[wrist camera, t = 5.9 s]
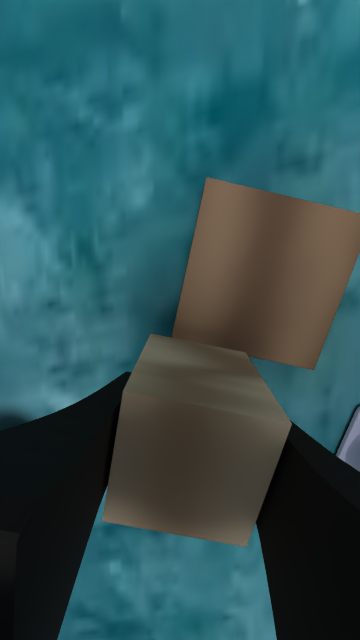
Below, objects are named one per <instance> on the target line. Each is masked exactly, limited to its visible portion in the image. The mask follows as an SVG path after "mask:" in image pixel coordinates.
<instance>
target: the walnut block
mask: <svg viewBox="0 0 360 640" xmlns="http://www.w3.org/2000/svg"><path fill="white" fill-rule="evenodd" d="M359 252H360V213H357V212H353V211H349V210H344V209H340V208H336V207H331V206H327V205H323V204H319V203H314V202H310V201H306V200H302V199H297V198H293V197H289V196H285V195H280V194H276V193H272V192H267V191H263V190H259V189H255V188H250V187H246V186H242V185H238V184H233V183H229V182H225V181H221V180H216V179H212V178H208V177H207V178H206V182H205V186H204V190H203V194H202V199H201V203H200V208H199V212H198V217H197V222H196V226H195V231H194V235H193V240H192V245H191V249H190V254H189V258H188V263H187V268H186V272H185V277H184V281H183V286H182V291H181V295H180V300H179V304H178V309H177V314H176V318H175V323H174V327H173V333H172V338H176V339H181V340H186V341H191V342H196V343H201V344H206V345H211V346H216V347H221V348H226V349H231V350H236V351H241V352H246V354H247V355H248V356H251V357H255V358H260V359H265V360H269V361H274V362H279V363H284V364H288V365H293V366H298V367H302V368H307V369H312V370H314V369H315V366H316V364H317V361H318V358H319V356H320V353H321V351H322V348H323V346H324V343H325V340H326V338H327V335H328V333H329V330H330V327H331V325H332V322H333V320H334V317H335V315H336V312H337V309H338V307H339V304H340V302H341V299H342V296H343V294H344V291H345V289H346V286H347V283H348V281H349V278H350V276H351V273H352V271H353V268H354V265H355V263H356V260H357V258H358V255H359Z"/></svg>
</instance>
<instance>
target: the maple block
mask: <svg viewBox="0 0 360 640" xmlns="http://www.w3.org/2000/svg"><path fill="white" fill-rule="evenodd" d="M291 425H292V423H291V421H290V420H289V418H288V417H287V415H286V414H285V412H284V411H283V409H282V407H281V406H280V404H279V403H278V401H277V400H276V398H275V397H274V395H273V394H272V392H271V391H270V389H269V387H268V386H267V384H266V383H265V381H264V380H263V378H262V377H261V375H260V374H259V372H258V371H257V369H256V368H255V366H254V364H253V363H252V361H251V360H250V358H249V357H248V355H247V354H246V352H241V351H236V350H231V349H226V348H221V347H216V346H211V345H206V344H201V343H196V342H191V341H186V340H181V339H176V338H171V337H166V336H161V335H156V334H150V336H149V338H148V340H147V342H146V345H145V347H144V349H143V351H142V353H141V355H140V357H139V359H138V361H137V363H136V365H135V367H134V369H133V371H132V373H131V376H130V378H129V380H128V382H127V384H126V386H125V388H124V390H123V394H122V401H121V407H120V413H119V419H118V426H117V432H116V438H115V444H114V451H113V457H112V463H111V469H110V476H109V482H108V488H107V494H106V501H105V507H104V513H103V519H102V521H105V522H110V523H116V524H121V525H127V526H132V527H138V528H144V529H149V530H155V531H160V532H166V533H171V534H177V535H183V536H188V537H194V538H199V539H205V540H210V541H216V542H222V543H227V544H233V545H238V546H244V547H247V544H248V541H249V539H250V536H251V533H252V531H253V528H254V525H255V523H256V520H257V517H258V514H259V512H260V509H261V506H262V504H263V501H264V498H265V496H266V493H267V490H268V487H269V485H270V482H271V479H272V477H273V474H274V471H275V468H276V466H277V463H278V460H279V458H280V455H281V452H282V450H283V447H284V444H285V441H286V439H287V436H288V433H289V431H290V428H291Z"/></svg>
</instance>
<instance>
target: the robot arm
mask: <svg viewBox="0 0 360 640" xmlns="http://www.w3.org/2000/svg"><path fill="white" fill-rule="evenodd" d="M131 373H132V372H125V373H124V374H122V375H121V376H119V377H118V378H116V379H115V380H113V381H112V382H110V383H109V384H107V385H106V386H104V387H103V388H101V389H100V390H98V391H96V392H95V393H93V394H91V395H89V396H88V397H86V398H84V399H82V400H81V401H79V402H77V403H75V404H73V405H70V406H68V407H66V408H64V409H62V410H59V411H57V412H55V413H52V414H50V415H47V416H44V417H42V418H39V419H36V420H33V421H30V422H28V423H25V424H22V425H19V426H16V427H13V428H9V429H6V430H2V431H0V640H57V638H58V635H59V632H60V628H61V625H62V622H63V619H64V615H65V612H66V609H67V606H68V603H69V599H70V596H71V593H72V590H73V587H74V583H75V580H76V577H77V574H78V571H79V568H80V564H81V561H82V558H83V555H84V552H85V549H86V546H87V542H88V539H89V536H90V533H91V530H92V527H93V524H94V521H95V518H96V515H97V512H98V509H99V506H100V503H101V501H102V498H103V495H104V493H105V490H106V488H107V486H108V482H109V476H110V469H111V463H112V457H113V451H114V444H115V438H116V432H117V426H118V419H119V413H120V407H121V401H122V394H123V390H124V388H125V386H126V384H127V382H128V380H129V378H130V376H131ZM290 421H291V420H290ZM291 423H292V425H291V428H290V431H289V433H288V436H287V439H286V441H285V444H284V447H283V450H282V452H281V455H280V458H279V460H278V463H277V466H276V468H275V471H274V474H273V477H272V479H271V482H270V485H269V487H268V490H267V493H266V496H265V498H264V501H263V504H262V506H261V509H260V512H259V514H258V517H257V520H256V525H257V529H258V533H259V537H260V542H261V548H262V553H263V558H264V564H265V569H266V575H267V581H268V587H269V593H270V598H271V604H272V610H273V616H274V623H275V630H276V637H277V640H360V407H358V408H357V409H356V411H355V413H354V416H353V418H352V420H351V422H350V425H349V427H348V429H347V431H346V434H345V436H344V438H343V440H342V442H341V445H340V447H339V449H338V451H337V454H336V455H334V454H333V453H331V452H330V451H329V450H327V449H326V448H325V447H323V446H322V445H321V444H319V443H318V442H317V441H315V440H314V439H313V438H312V437H310V436H309V435H308V434H307V433H305V432H304V431H303V430H302V429H300V428H299V427H298V426H297V425H295V424H294V423H293V422H292V421H291Z"/></svg>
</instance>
